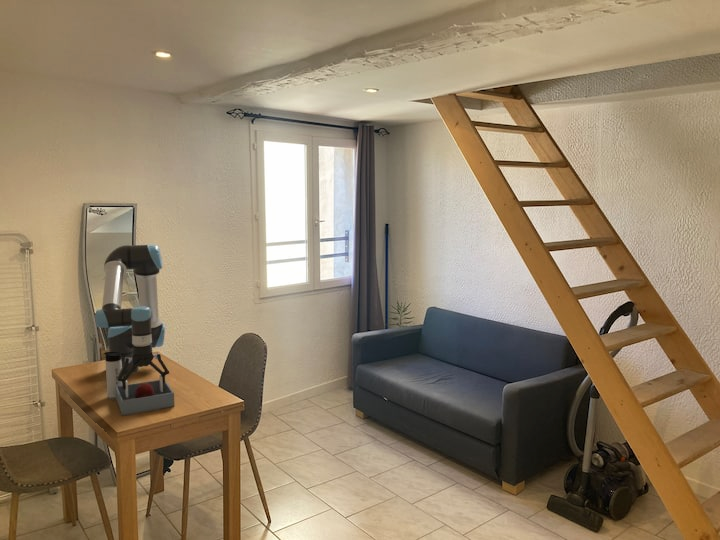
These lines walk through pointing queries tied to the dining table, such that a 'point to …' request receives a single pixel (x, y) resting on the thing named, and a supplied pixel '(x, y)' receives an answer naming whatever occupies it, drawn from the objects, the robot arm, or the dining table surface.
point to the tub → (144, 398)
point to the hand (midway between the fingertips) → (144, 393)
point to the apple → (144, 391)
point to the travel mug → (112, 373)
